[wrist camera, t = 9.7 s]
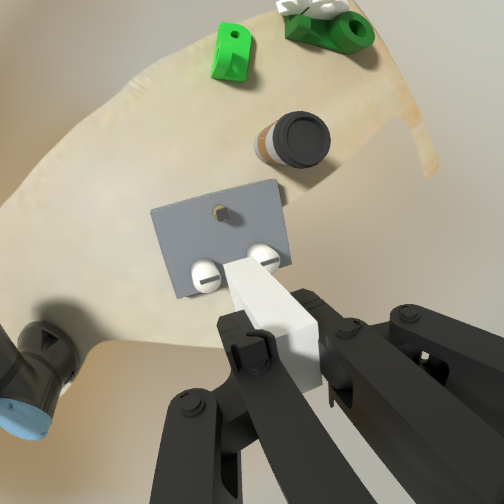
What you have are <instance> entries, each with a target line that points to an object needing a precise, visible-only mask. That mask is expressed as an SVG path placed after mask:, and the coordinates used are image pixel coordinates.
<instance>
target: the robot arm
mask: <svg viewBox="0 0 504 504" xmlns="http://www.w3.org/2000/svg"><path fill="white" fill-rule="evenodd" d="M223 267H224V270H225V274H226V278H227V282H228V286H229V289H230V293H231V297H232V301H233V304H234V308H235V312H234V313H230V314H227V315H224V316H221V317H219V320H218V322H217V328H218V331H219V334H220V337H221V340H222V343H223V346H224V349H225V352H226V355H227V358H228V360H229V363H230V366H231V373H230V376H229V377H228V379H227V380H226V381H225V383H224V384H222V385H221V386H220V387H218V388H216V389H215V390H213V391H211V392H210V391H208V390H205V389H202V388H194V389H189V390H185V391H183V392H181V393H179V394H178V395H176V396H175V397H174V398H173V399H172V400H171V403H170V405H169V407H168V410H167V415H166V420H165V424H164V429H163V433H162V438H161V443H160V448H159V454H158V458H157V464H156V469H155V474H154V480H153V485H152V491H151V497H150V503H149V504H243V498H242V472H241V450H242V449H243V448H245V447H247V446H248V445H250V444H251V443H253V442H254V441H256V440H257V439H259V441H260V443H261V446H262V448H263V450H264V453H265V455H266V457H267V459H268V462H269V464H270V466H271V468H272V471H273V473H274V475H275V477H276V479H277V482H278V484H279V486H280V488H281V490H282V492H283V494H284V496H285V498H286V500H287V503H288V504H377V502H376V501H375V500H374V498H373V497H372V495H371V494H370V493H369V491H368V490H367V489H366V487H365V486H364V485H363V483H362V482H361V480H360V479H359V477H358V476H357V475H356V473H355V472H354V470H353V469H352V467H351V466H350V465H349V463H348V462H347V460H346V459H345V457H344V456H343V454H342V453H341V452H340V450H339V449H338V447H337V446H336V444H335V443H334V441H333V440H332V438H331V437H330V435H329V434H328V433H327V431H326V430H325V428H324V427H323V425H322V424H321V422H320V421H319V419H318V418H317V416H316V415H315V413H314V412H313V410H312V408H311V407H310V405H309V404H308V402H307V401H306V399H305V398H304V396H303V395H302V393H304V392H307V391H309V390H312V389H314V388H316V387H318V386H320V385H322V375H323V376H324V377H325V378H326V380H327V381H328V386H329V404H330V407H331V408H332V407H333V406H334V400H335V401H336V402H337V404H338V405H339V406H340V408H341V409H342V410H343V412H344V413H345V414H346V415H347V417H348V418H349V419H350V421H351V422H352V423H353V425H354V426H355V427H356V429H357V430H358V431H359V432H360V434H361V435H362V436H363V438H364V439H365V440H366V441H367V443H368V444H369V445H370V447H371V448H372V449H373V450H374V452H375V453H376V454H377V455H378V457H379V458H380V459H381V461H382V462H383V463H384V464H385V465H386V467H387V468H388V469H389V471H390V472H391V473H392V474H393V476H394V477H395V478H396V479H397V481H398V482H399V483H400V484H401V486H402V487H403V488H404V489H405V490H406V492H407V493H408V494H409V495H410V497H411V498H412V499H413V500H414V501H415V503H416V504H504V338H502V337H500V336H498V335H495V334H492V333H490V332H487V331H485V330H482V329H479V328H477V327H474V326H471V325H469V324H466V323H464V322H461V321H458V320H456V319H453V318H450V317H448V316H445V315H442V314H440V313H437V312H434V311H432V310H429V309H426V308H424V307H421V306H418V305H413V304H405V305H400V306H398V307H396V308H394V309H393V310H392V311H391V313H390V321H388V322H384V323H380V324H375V325H368V324H366V323H365V322H363V321H361V320H360V319H355V318H343V317H342V316H341V315H340V314H339V313H338V312H336V311H335V310H334V309H333V308H332V307H331V306H329V305H328V304H327V303H325V302H324V300H322V299H320V297H319V296H317V294H315V293H314V292H312V291H309V290H306V289H300V290H297V291H294V292H291V293H288V291H287V290H286V289H284V287H283V286H281V284H280V283H279V282H278V281H277V280H276V279H275V278H274V277H272V275H271V274H270V273H269V272H268V271H267V270H266V269H265V268H264V267H263V266H262V265H261V264H260V263H259V262H258V261H257V260H256V259H255V258H254V257H253V256H251V257H247V258H244V259H240V260H237V261H234V262H230V263H227V264H223ZM422 351H424V352H426V353H428V354H429V358H428V359H426V360H425V359H422V358H421V356H422ZM78 364H79V358H78V354H77V351H76V349H75V347H74V345H73V343H72V342H71V340H70V339H69V338H68V337H67V336H66V335H65V334H64V333H63V332H62V331H61V330H59V329H58V328H56V327H55V326H53V325H51V324H48V323H45V322H32V323H29V324H28V325H26V326H25V327H24V329H23V330H22V331H21V333H20V335H19V338H18V344H17V348H16V346H15V345H14V344H13V342H12V341H11V339H10V338H9V336H8V335H7V333H6V332H5V330H4V329H3V327H2V326H1V324H0V427H2V428H3V429H5V430H6V431H7V432H9V433H11V434H13V435H15V436H17V437H20V438H22V439H25V440H31V441H38V440H41V439H43V438H44V437H46V435H47V433H48V430H49V428H50V426H51V424H52V418H53V415H54V411H55V408H56V405H57V402H58V399H59V395H60V392H61V389H62V388H63V387H64V386H65V385H66V384H67V383H68V382H69V381H70V380H71V379H72V378H73V377H74V376H75V374H76V371H77V368H78Z"/></svg>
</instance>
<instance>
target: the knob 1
mask: <svg viewBox="0 0 504 504" xmlns="http://www.w3.org/2000/svg"><path fill="white" fill-rule="evenodd" d="M191 274H192V279H193V283H194V286H195V288H196V289H197V290H198V291H200V292H202V293H211V292H214V291H215V290H217V289H218V287H219V286H220V284H221V276H220V273H219V271H218V269H217V267H216V265H215V263H214V262H213V261H212V260H210V259H208V258H200V259H198V260H196V261H195V262H194V263H193V265H192V267H191Z"/></svg>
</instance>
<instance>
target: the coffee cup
mask: <svg viewBox="0 0 504 504" xmlns="http://www.w3.org/2000/svg"><path fill="white" fill-rule="evenodd" d="M330 143H331V138H330V133H329V130H328V128H327V126H326V125H325V123H324V122H323V121H322V120H321V119H320V118H319V117H317V116H315V115H314V114H311V113H309V112H304V111H296V112H291V113H288V114H285V115H284V116H283V117H281V118H280V119H279V120H277V121H276V122H274V123H273V124H271V125H270V126H268V127H267V128H265V129H264V130H263V131H261V132H260V133H259V134H258V135H257V137H256V138H255V141H254V150H255V153H256V155H257V156H258V157H259V159H261V160H262V161H264V162H266V163H271V164H276V165H284V166H291V167H294V168H300V169H303V168H309V167H312V166H315V165H317V164H318V163H319V162H321V161H322V160H323V159H324V158H325V156H326V155H327V153H328V151H329V148H330Z"/></svg>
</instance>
